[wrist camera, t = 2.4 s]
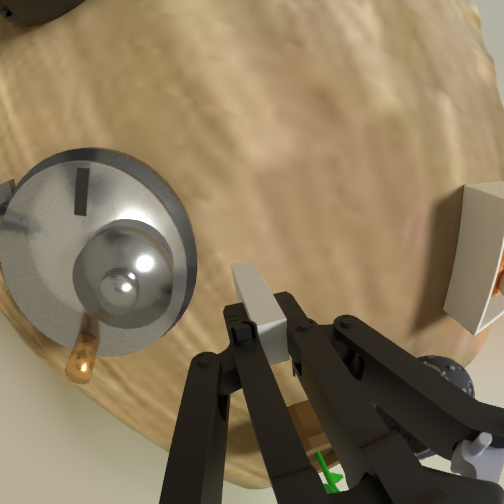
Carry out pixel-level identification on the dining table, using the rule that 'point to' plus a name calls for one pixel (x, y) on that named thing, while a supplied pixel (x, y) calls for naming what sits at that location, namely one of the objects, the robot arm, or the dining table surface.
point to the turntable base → (149, 179)
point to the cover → (125, 274)
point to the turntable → (67, 249)
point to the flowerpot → (315, 442)
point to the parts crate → (478, 258)
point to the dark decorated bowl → (448, 371)
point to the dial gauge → (5, 197)
